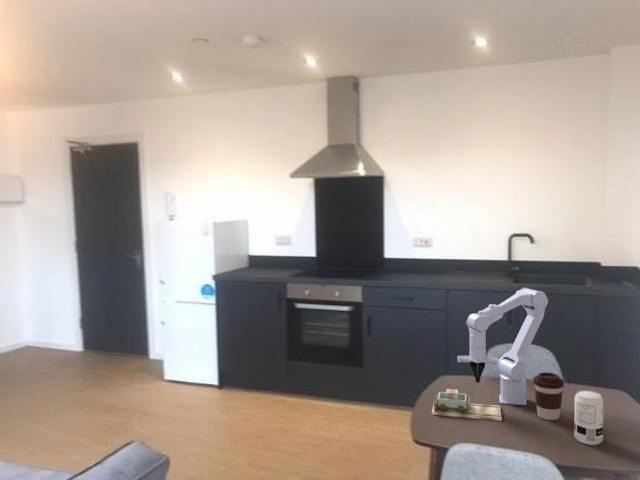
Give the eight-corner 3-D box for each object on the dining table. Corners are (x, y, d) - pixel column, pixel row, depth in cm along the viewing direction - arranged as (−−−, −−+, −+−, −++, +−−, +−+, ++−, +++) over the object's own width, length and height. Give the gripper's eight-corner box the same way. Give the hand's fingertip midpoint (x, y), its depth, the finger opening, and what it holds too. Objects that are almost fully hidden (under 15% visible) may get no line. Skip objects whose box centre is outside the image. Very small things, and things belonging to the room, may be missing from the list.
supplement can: (568, 435, 171) (569, 390, 170) (592, 433, 172) (593, 389, 171) (583, 446, 163) (584, 400, 162) (608, 445, 164) (609, 398, 163)
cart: (469, 402, 196) (469, 393, 196) (469, 412, 187) (469, 402, 187) (439, 400, 199) (439, 390, 199) (437, 410, 190) (437, 400, 190)
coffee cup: (550, 424, 179) (550, 382, 178) (527, 414, 188) (527, 373, 187) (569, 418, 184) (570, 376, 182) (546, 408, 192) (546, 368, 191)
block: (457, 400, 194) (457, 389, 194) (457, 404, 191) (457, 393, 190) (446, 399, 196) (446, 388, 195) (446, 403, 192) (446, 392, 191)
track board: (500, 408, 194) (500, 397, 193) (501, 420, 183) (501, 409, 183) (434, 402, 201) (434, 392, 200) (431, 414, 190) (431, 403, 190)
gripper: (457, 348, 193) (457, 383, 194) (498, 350, 189) (498, 387, 190) (457, 342, 200) (458, 377, 201) (497, 345, 195) (497, 380, 196)
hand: (477, 381), depth 196 cm, fingers closed
